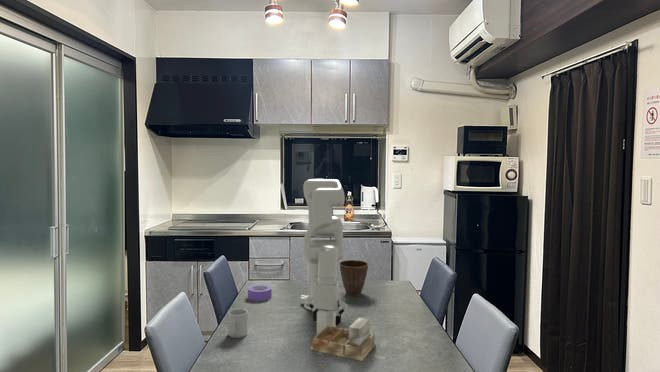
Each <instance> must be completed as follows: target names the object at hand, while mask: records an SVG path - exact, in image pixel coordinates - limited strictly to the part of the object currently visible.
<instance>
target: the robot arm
mask: <svg viewBox="0 0 660 372" xmlns="http://www.w3.org/2000/svg"><path fill="white" fill-rule="evenodd" d="M303 196H304V198H305V201H306V204H307V209H308V229H307V230H306V232H305V234H304V238H303V256H304V261H305V262H306V264H307V295H304V294H301V295H300V301H304V303H303V306H304V308H305V309H306V310H309V311H311V312H312V319H313V322H314V323H315V322H317V312H318V311H319V310H320V309H322V310H328V311H335V313H336V318H335V325H336V327H337V326H339V325H340V324H341V322H342V314H344V313H345V311H346V309H347V308H348V306H349V305H348V304H347V303H346V302H345V301H343V300H341V297H340V296H341V295H340V287H339V284H338V283H337V279H338V278H337V277H338V276H337V275H338V273H337V272H338V260H341V259H343V256H344V233H343V229H344V228H343V222H342V219H341V218H339V216H333V208H342V207H343V206H344V205H345V197H346V196H345V192H344V188H343V186H342V184H341V181H340V180H339V179H334V178H333V179H332V178H331V179H330V178H329V179H327V178H325V179H324V178H311V179H307V180H305V181H304V183H303ZM312 237H316V238H317V237H319V238H321V237H322V238H323V237H324V238H325V237H326V238H327V237H328V238H329V237H330V238H332V239H312V240H311V238H312ZM340 306H342V308H340Z"/></svg>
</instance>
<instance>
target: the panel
mask: <svg viewBox="0 0 660 372" xmlns="http://www.w3.org/2000/svg"><path fill="white" fill-rule="evenodd" d="M336 315H337V314H336V313H335V311H328V310H322V309H320V310H319V311H318V312H317V321H316V335H317V334H319V333H320V332H321V331H322V330H323V329H325V328H326V327H327V326H333V327H337V326H336V325H335V318H336Z"/></svg>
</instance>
